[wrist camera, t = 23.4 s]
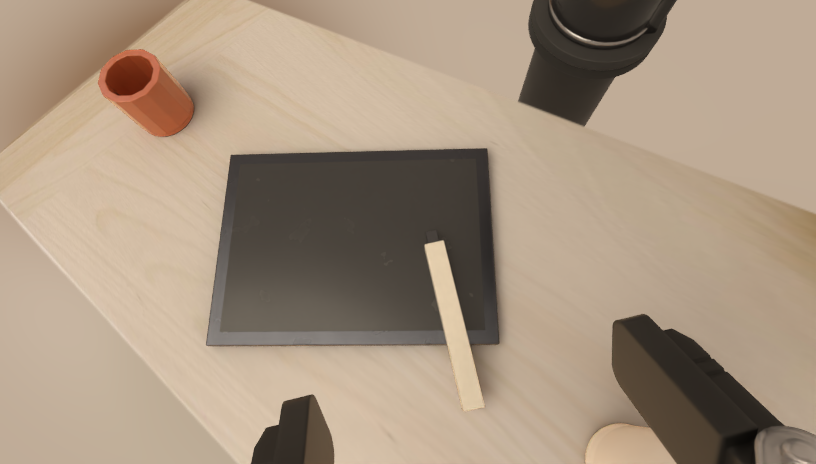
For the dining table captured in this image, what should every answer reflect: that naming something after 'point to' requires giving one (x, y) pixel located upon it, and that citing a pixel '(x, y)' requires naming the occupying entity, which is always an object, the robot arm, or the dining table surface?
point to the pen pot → (146, 92)
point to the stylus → (453, 324)
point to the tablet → (352, 248)
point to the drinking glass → (626, 446)
